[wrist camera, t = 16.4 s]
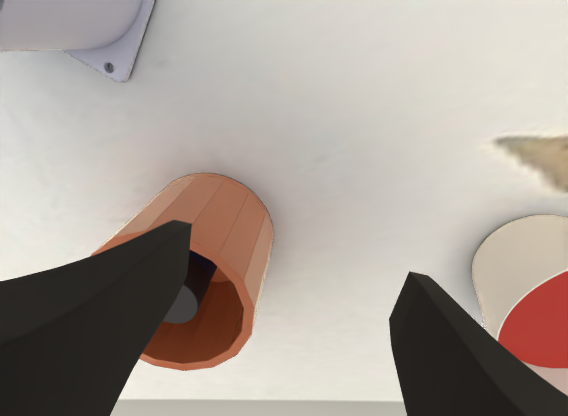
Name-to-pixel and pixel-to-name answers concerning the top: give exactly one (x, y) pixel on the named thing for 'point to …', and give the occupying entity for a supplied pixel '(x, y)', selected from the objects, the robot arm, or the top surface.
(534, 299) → the candle
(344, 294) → the top surface
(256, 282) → the pen pot
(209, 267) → the glue stick
